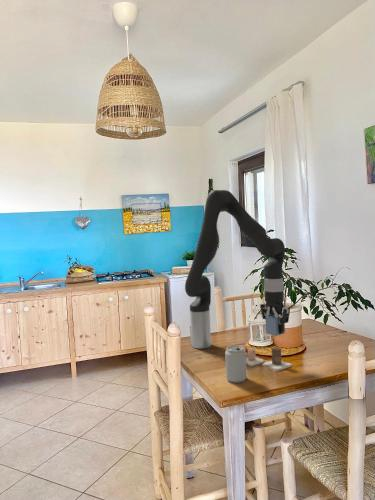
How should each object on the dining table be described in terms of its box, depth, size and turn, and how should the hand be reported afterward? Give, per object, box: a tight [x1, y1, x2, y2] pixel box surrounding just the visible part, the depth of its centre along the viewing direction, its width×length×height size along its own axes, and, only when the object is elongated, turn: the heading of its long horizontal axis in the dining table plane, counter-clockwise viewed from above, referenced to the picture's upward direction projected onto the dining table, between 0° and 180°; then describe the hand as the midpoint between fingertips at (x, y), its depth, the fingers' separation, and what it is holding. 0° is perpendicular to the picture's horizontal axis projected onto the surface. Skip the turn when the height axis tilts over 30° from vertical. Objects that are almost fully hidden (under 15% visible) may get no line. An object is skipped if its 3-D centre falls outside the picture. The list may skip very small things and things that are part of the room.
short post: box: [246, 348, 265, 367], centre depth 162 cm, size 7×7×5 cm
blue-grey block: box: [265, 315, 286, 337], centre depth 155 cm, size 5×5×7 cm
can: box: [224, 345, 248, 384], centre depth 144 cm, size 8×8×12 cm
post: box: [261, 346, 293, 372], centre depth 156 cm, size 8×8×7 cm
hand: (275, 331), depth 155 cm, fingers closed on blue-grey block, 5 cm apart
